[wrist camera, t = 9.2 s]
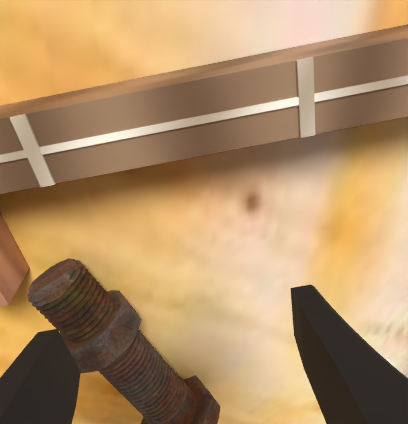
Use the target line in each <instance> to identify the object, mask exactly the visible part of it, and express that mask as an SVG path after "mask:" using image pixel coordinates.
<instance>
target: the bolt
mask: <svg viewBox="0 0 408 424" xmlns="http://www.w3.org/2000/svg"><path fill="white" fill-rule="evenodd" d="M28 299H29V300H28V301H29V302H32V305H33V306H34V307H36V309H37V310H40V313H41V314H43V315H44V316H45V318H47V319H48V320H49V322H50V323H52V325H53V326H54V327H56V328H57V329H58V331H60V335H61V337H62V339H63V340H64V342H65V344H66V346H67V348H68V350H69V351H70V353H71V355H72V357H73V359H74V361H75V362H76V364H77V366H78V368H79V370H80V373H87V372H93V371H97V370H98V371H99V372H100V373H101V374H102V375H103V376H104V377H105V378H106V379H107V380H108V381H109V382H110V383H111V384H112V385H113V386H114V387H115V388H116V389H117V390H118V391H119V392H120V393H121V394H122V395H123V396H124V397H126V399H127V400H128V401H129V402H130V403H131V404H132V405H133V406H134V407H135V408H136V409H137V410H138V411H139V412H140V413H141V414H142V415H143V417H144V418H143V420H142V422H141V424H217V423H218V419H219V413H220V405H219V404H218V403H217V401H216V400H215V399H214V398H213V396H212V395H211V394H210V393H209V391H208V390H207V389H206V388H205V386H204V385H203V384H202V383H201V381H200V380H199V379H198V378H197V376H193V377H190V378H187V379H185V380H182V379H181V378H180V377H178V376H177V375H176V374H175V372H174V371H173V370H172V369H171V368H170V367H169V365H168V364H167V363H166V362H165V361H164V360H163V358H162V357H161V356H160V355H159V353H157V351H156V350H155V349H154V347H152V345H151V344H150V343H149V342H148V341H147V340H146V338H145V337H144V336H143V335H142V334H141V333H140V331H139V330H138V328H139V325H140V321H141V318H140V317H139V315H138V314H137V313H136V311H135V310H134V309H133V307H132V306H131V305H130V304H129V302H128V301H127V300H126V299H125V297H124V296H123V295H122V294H121V293H120V291H115V290H111V291H108V292H106V291H105V290H103V288H102V287H101V286H100V285H99V283H98V282H96V280H95V278H93V277H92V275H91V274H90V273H88V270H87V269H85V266H84V265H82V263H81V262H80V261H78V260H76V261H75V260H74V259H67V260H64V261H62V262H59V263H57V264H55V265H54V266H52V267H50V268H49V269H48V270H46V271H45V272H44V273H43V274H41V275H40V276H39V277H38V278H37V279H35V280H34V281H33V282H32V284H31V286H30V288H29V294H28Z"/></svg>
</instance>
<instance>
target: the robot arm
mask: <svg viewBox="0 0 408 424" xmlns="http://www.w3.org/2000/svg"><path fill="white" fill-rule="evenodd" d="M291 299H292V312H293V325H294V336H295V339H296V343H297V346H298V350H299V353H300V357H301V360H302V363H303V367H304V369H305V372H306V374H307V377H308V379H309V382H310V384H311V387H312V389H313V392H314V394H315V396H316V399H317V401H318V404H319V406H320V409H321V411H322V413H323V416H324V418H325V421H326V423H327V424H408V378H407V377H405V376H404V375H403V374H402V373H401V372H399V371H398V370H397V369H396V368H395V367H394V366H392V365H391V364H390V363H389V362H388V361H387V360H386V359H384V358H383V357H382V356H381V355H380V354H379V353H378V352H376V351H375V350H374V349H373V348H372V347H371V346H370V345H369V344H368V343H367V342H366V341H365V340H364V339H363V338H362V337H361V336H360V335H359V334H357V333H356V332H355V331H354V330H353V329H352V328H351V327H350V326H349V325H348V324H347V323H346V322H345V321H344V320H343V319H342V317H341V316H340V315H339V314H338V313H337V312H336V311H335V310H334V309H333V308H332V307H331V306H330V304H329V303H328V302H327V301H326V300H325V299H324V298H323V296H322V295H321V294H320V293H319V292H318V291H317V289H316V288H315V287H314V286H312V285H306V286H300V287H295V288H291ZM79 379H80V370H79V368H78V366H77V364H76V362H75V361H74V359H73V357H72V355H71V353H70V351H69V350H68V348H67V346H66V344H65V342H64V340H63V339H62V337H61V335H60V333H59V331H58V329H54V330H49V331H43V332H38V333H37V334H36V335H35V337H34V338H33V339H32V340H31V341H30V342H29V344H28V345H27V346H26V347H25V348H24V350H23V351H22V352H21V353H20V355H19V356H18V357H17V358H16V359H15V361H14V362H13V363H12V364H11V366H10V367H9V368H8V369H7V370H6V372H5V373H4V374H3V375H2V376H1V378H0V424H71V423H72V419H73V415H74V411H75V407H76V401H77V395H78V387H79Z"/></svg>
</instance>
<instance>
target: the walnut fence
mask: <svg viewBox="0 0 408 424" xmlns="http://www.w3.org/2000/svg"><path fill="white" fill-rule="evenodd" d="M403 117H408V25H403V26H398V27H393V28H388V29H383V30H378V31H373V32H368V33H363V34H358V35H353V36H348V37H343V38H338V39H333V40H328V41H323V42H318V43H313V44H308V45H303V46H298V47H293V48H288V49H283V50H278V51H273V52H268V53H263V54H258V55H253V56H248V57H243V58H238V59H233V60H228V61H223V62H218V63H213V64H208V65H203V66H198V67H193V68H188V69H183V70H178V71H173V72H168V73H163V74H158V75H153V76H148V77H143V78H138V79H133V80H128V81H123V82H118V83H113V84H108V85H103V86H98V87H93V88H88V89H83V90H78V91H73V92H68V93H63V94H58V95H53V96H48V97H43V98H38V99H33V100H28V101H23V102H18V103H13V104H8V105H3V106H0V194H3V193H8V192H14V191H19V190H24V189H30V188H35V187H40V186H41V187H46V186H51V185H55V184H56V183H61V182H66V181H72V180H77V179H82V178H87V177H93V176H98V175H103V174H108V173H114V172H119V171H124V170H129V169H135V168H140V167H145V166H150V165H156V164H161V163H166V162H171V161H177V160H182V159H187V158H192V157H198V156H203V155H208V154H213V153H219V152H224V151H229V150H235V149H240V148H245V147H250V146H256V145H261V144H266V143H271V142H277V141H282V140H287V139H292V138H298V137H300V138H303V137H309V136H314V135H315V134H319V133H324V132H329V131H334V130H340V129H345V128H350V127H355V126H361V125H366V124H371V123H376V122H382V121H387V120H392V119H397V118H403ZM28 270H29V266H28V264H27V263H26V261H25V259H24V257H23V255H22V253H21V251H20V249H19V248H18V246H17V244H16V242H15V240H14V238H13V236H12V235H11V233H10V231H9V229H8V227H7V225H6V223H5V221H4V220H3V218H2V216H1V214H0V307H3V306H8V305H9V304H10V302H11V301H12V299H13V297H14V295H15V293H16V292H17V290H18V288H19V286H20V284H21V283H22V281H23V279H24V277H25V275H26V274H27V272H28Z"/></svg>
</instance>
